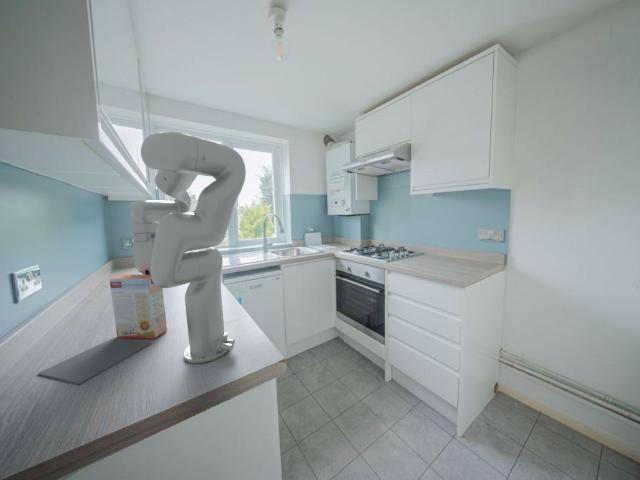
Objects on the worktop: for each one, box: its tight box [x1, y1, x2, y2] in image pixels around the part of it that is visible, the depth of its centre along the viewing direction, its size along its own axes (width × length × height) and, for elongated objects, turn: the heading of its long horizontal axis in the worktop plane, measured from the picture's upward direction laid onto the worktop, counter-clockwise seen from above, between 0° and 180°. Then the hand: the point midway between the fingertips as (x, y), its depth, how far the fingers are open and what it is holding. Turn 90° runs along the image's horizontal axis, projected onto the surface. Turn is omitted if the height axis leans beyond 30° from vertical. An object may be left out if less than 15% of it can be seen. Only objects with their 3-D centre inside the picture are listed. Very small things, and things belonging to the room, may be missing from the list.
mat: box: [37, 336, 153, 385], centre depth 66 cm, size 16×18×1 cm
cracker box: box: [109, 274, 168, 340], centre depth 77 cm, size 14×6×21 cm, turn 84°
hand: (152, 287), depth 82 cm, fingers closed
